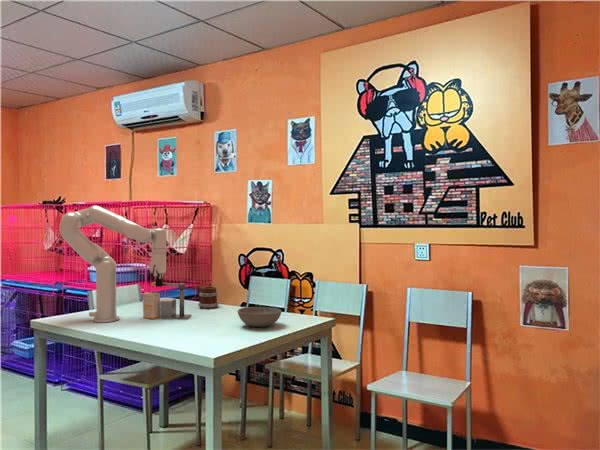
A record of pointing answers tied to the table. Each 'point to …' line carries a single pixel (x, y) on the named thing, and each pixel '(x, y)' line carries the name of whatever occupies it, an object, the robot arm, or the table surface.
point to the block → (167, 308)
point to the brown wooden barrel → (207, 297)
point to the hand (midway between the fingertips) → (159, 286)
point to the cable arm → (171, 284)
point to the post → (181, 307)
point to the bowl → (259, 316)
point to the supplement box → (151, 305)
